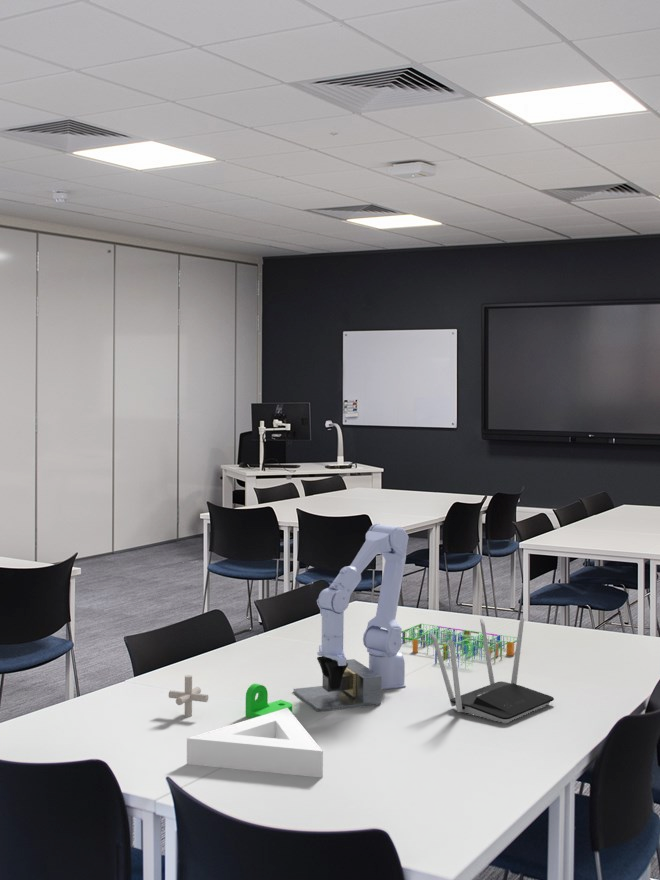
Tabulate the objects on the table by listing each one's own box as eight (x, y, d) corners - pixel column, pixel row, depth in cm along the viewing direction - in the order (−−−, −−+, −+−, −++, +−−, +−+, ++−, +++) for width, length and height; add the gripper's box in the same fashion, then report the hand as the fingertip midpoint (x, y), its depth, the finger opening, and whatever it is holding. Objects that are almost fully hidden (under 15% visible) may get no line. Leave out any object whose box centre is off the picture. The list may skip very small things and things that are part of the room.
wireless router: (494, 732, 236) (495, 649, 236) (416, 711, 252) (417, 632, 251) (565, 701, 261) (566, 625, 260) (490, 684, 277) (492, 612, 276)
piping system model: (521, 652, 314) (521, 637, 313) (482, 673, 289) (483, 657, 288) (421, 637, 332) (422, 623, 332) (377, 656, 307) (377, 640, 307)
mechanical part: (261, 723, 242) (262, 691, 242) (245, 717, 246) (245, 685, 246) (297, 712, 251) (297, 681, 250) (280, 707, 255) (281, 676, 254)
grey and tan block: (358, 685, 269) (358, 663, 269) (372, 694, 260) (372, 672, 260) (319, 689, 265) (319, 667, 264) (331, 699, 256) (331, 676, 256)
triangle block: (322, 781, 207) (322, 751, 207) (197, 794, 199) (197, 763, 199) (287, 734, 236) (287, 707, 235) (177, 743, 228) (177, 716, 228)
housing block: (353, 686, 273) (354, 659, 273) (381, 705, 257) (381, 676, 256) (293, 692, 267) (293, 664, 267) (317, 712, 250) (317, 682, 250)
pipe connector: (215, 712, 249) (215, 672, 249) (197, 724, 240) (197, 683, 239) (179, 708, 253) (179, 669, 252) (160, 720, 243) (160, 679, 243)
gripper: (308, 629, 266) (308, 680, 266) (328, 642, 252) (327, 695, 253) (333, 627, 268) (332, 677, 269) (354, 640, 255) (353, 692, 255)
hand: (332, 686), depth 261 cm, fingers closed on grey and tan block, 4 cm apart
